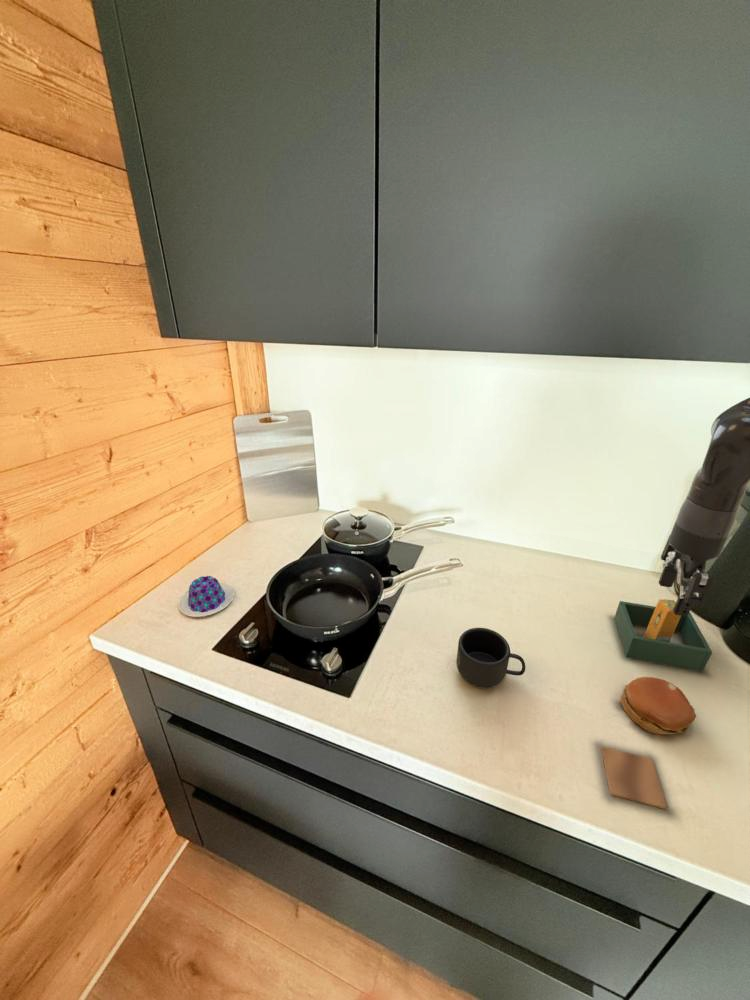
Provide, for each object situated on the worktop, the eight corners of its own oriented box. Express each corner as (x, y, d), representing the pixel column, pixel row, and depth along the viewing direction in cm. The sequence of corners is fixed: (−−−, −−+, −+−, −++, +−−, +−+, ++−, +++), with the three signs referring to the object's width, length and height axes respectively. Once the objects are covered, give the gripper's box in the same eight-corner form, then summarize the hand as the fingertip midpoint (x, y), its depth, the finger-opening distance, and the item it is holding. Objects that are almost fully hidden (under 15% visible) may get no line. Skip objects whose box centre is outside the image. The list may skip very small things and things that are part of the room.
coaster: (651, 760, 64) (652, 758, 64) (666, 809, 58) (667, 808, 58) (601, 748, 66) (601, 746, 65) (610, 794, 60) (611, 793, 59)
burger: (616, 717, 70) (624, 698, 68) (625, 680, 77) (633, 662, 75) (687, 752, 65) (698, 732, 63) (690, 709, 72) (700, 690, 70)
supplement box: (668, 649, 83) (685, 610, 79) (651, 649, 83) (666, 610, 79) (659, 637, 86) (674, 598, 82) (642, 637, 86) (656, 598, 82)
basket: (682, 630, 88) (690, 612, 86) (703, 672, 79) (712, 652, 76) (613, 619, 91) (619, 600, 89) (625, 657, 82) (632, 638, 79)
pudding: (205, 580, 104) (200, 562, 102) (245, 591, 100) (242, 573, 98) (167, 611, 94) (161, 592, 92) (210, 625, 90) (205, 606, 88)
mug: (451, 685, 76) (454, 657, 73) (459, 649, 84) (462, 622, 80) (521, 704, 73) (527, 675, 69) (522, 665, 80) (528, 637, 77)
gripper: (748, 551, 65) (710, 629, 73) (710, 509, 78) (681, 580, 85) (692, 543, 67) (661, 621, 75) (664, 504, 79) (639, 573, 87)
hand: (671, 599), depth 80 cm, fingers open, 8 cm apart
